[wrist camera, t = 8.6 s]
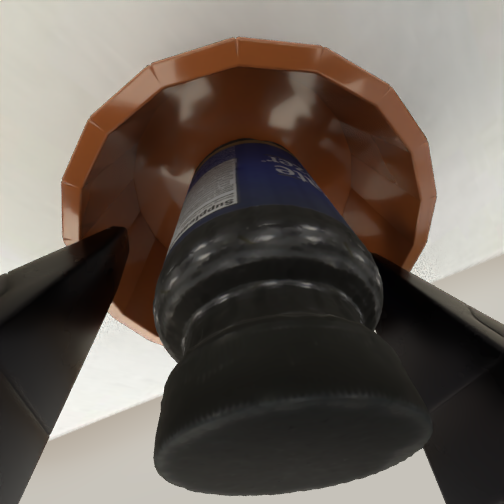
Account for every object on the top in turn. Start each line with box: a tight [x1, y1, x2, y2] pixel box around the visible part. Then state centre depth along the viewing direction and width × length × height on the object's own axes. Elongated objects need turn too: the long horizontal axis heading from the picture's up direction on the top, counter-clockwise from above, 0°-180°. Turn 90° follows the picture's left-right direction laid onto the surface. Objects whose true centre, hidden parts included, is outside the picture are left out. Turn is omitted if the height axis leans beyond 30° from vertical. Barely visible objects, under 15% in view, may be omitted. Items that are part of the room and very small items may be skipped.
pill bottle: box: [153, 138, 433, 496], centre depth 9 cm, size 6×6×11 cm
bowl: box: [61, 37, 437, 345], centre depth 11 cm, size 12×12×6 cm
